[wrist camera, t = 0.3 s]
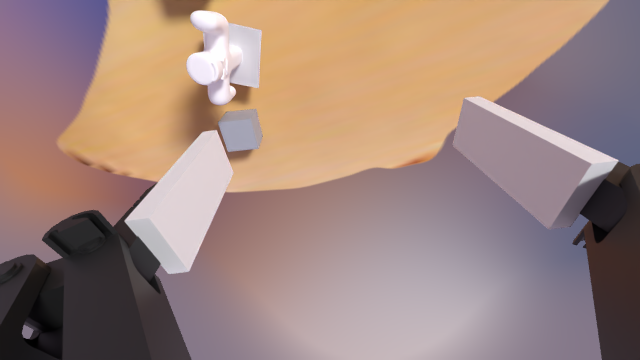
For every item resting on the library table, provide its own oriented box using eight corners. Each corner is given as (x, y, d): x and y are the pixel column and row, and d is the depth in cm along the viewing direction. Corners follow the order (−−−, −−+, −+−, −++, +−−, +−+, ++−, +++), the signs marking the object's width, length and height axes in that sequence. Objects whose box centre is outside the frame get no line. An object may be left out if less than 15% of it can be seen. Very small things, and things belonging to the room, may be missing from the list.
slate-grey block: (226, 111, 39) (217, 122, 35) (256, 108, 39) (250, 119, 35) (235, 138, 42) (228, 151, 38) (262, 135, 42) (258, 148, 38)
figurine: (214, 80, 37) (169, 112, 24) (211, 7, 31) (150, -1, 19) (261, 89, 38) (241, 124, 25) (265, 19, 32) (242, 20, 20)
